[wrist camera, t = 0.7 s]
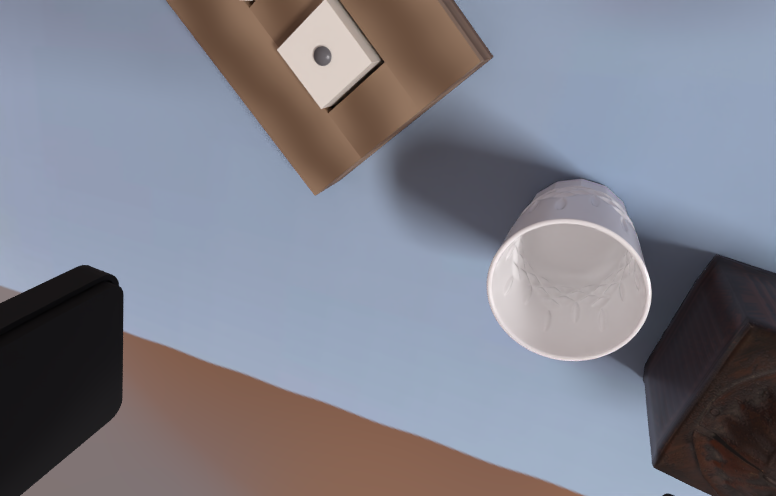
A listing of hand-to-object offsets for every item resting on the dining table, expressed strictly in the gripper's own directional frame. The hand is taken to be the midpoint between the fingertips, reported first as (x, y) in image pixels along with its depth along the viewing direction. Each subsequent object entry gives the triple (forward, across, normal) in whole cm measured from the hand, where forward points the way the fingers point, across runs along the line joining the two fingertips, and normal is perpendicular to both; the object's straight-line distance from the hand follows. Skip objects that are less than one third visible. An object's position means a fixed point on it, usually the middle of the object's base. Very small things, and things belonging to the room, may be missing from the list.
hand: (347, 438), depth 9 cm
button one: (+28, +12, -2) cm, 30 cm away
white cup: (+30, -5, +5) cm, 31 cm away
